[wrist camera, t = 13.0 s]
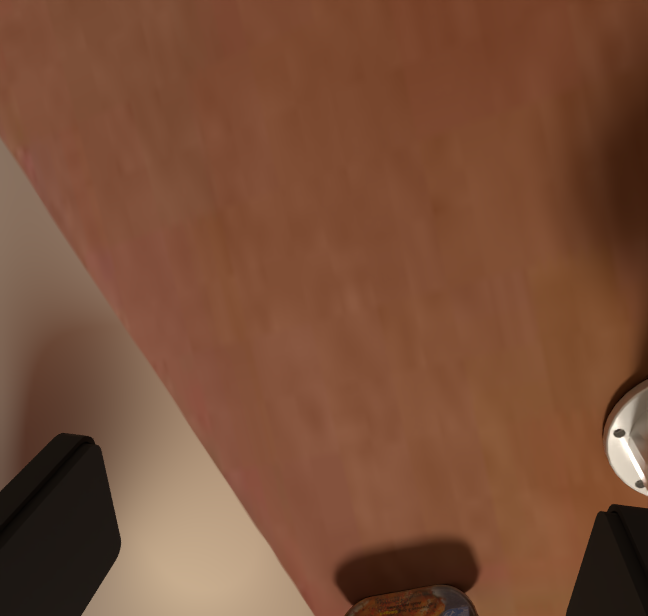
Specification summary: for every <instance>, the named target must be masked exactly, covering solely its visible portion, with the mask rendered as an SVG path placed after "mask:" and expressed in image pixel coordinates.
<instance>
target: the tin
mask: <svg viewBox="0 0 648 616" xmlns="http://www.w3.org/2000/svg"><path fill="white" fill-rule="evenodd" d="M345 616H478V614H477V611H476V609H475V606H474V605H473V603H472V601H471V600H470V599H469V597H468V596H467V595H466V594H465V593H463V592H462V591H461V590H459V589H457V588H455V587H452V586H449V585H431V586H427V587H421V588H416V589H411V590H405V591H400V592H394V593H388V594H383V595H377V596H372V597H368V598H365V599H363V600H361V601H360V602H358V603H357V604H355V605H354V606H353V607H352V608H351V609H350V610H349V611H348V612H347V613H346V614H345Z"/></svg>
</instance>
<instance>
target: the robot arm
mask: <svg viewBox="0 0 648 616" xmlns="http://www.w3.org/2000/svg"><path fill="white" fill-rule="evenodd" d="M603 444H604V450H605V453H606V456H607V458H608V460H609V463H610V465H611V466H612V468H613V470H614V471H615V473H616V475H617V476H618V477H619V478H620V479H621V480H622V481H623V482H624V483H625V484H627V485H628V486H629V487H631V488H632V489H634V490H635V491H637V492H640V493H642V494H644V495H646V496H648V379H647V380H645V381H643V382H642V383H640V384H638V385H637V386H635V387H634V388H633V389H631V390H630V391H629V392H627V393H626V394H625V395H624V396H623V397H622V398H621V399H620V401H619V402H618V403H617V404H616V405H615V407H614V408H613V410H612V411H611V413H610V414H609V416H608V419H607V422H606V424H605V427H604V434H603ZM120 547H121V538H120V533H119V529H118V524H117V520H116V515H115V510H114V506H113V501H112V498H111V492H110V488H109V483H108V479H107V474H106V470H105V465H104V460H103V456H102V451H101V448H100V447H99V446H98V445H95V442H94V440H93V439H92V438H91V437H89V436H83V435H76V434H68V433H61V434H59V435H57V436H56V437H54V438H53V439H52V441H50V442H49V443H48V444H47V446H45V447H44V448H43V450H41V451H40V452H39V453H38V455H36V456H35V457H34V458H33V460H31V462H29V464H27V465H26V466H25V468H23V469H22V471H21V472H20V473H19V474H17V476H15V477H14V479H12V480H11V481H10V482H9V483H8V485H6V486H5V487H4V489H2V490H1V492H0V616H81V615H82V613H83V612H84V610H85V609H86V607H87V605H88V604H89V602H90V601H91V599H92V597H93V596H94V594H95V593H96V591H97V589H98V588H99V586H100V584H101V583H102V581H103V580H104V578H105V577H106V575H107V573H108V572H109V570H110V568H111V567H112V565H113V564H114V562H115V561H116V559H117V557H118V554H119V551H120ZM566 616H648V508H640V507H632V506H624V505H617V504H612V505H611V506H610V507H609V509H608V511H607V512H603V511H600V512H599V513H598V514H597V516H596V519H595V523H594V526H593V529H592V532H591V535H590V538H589V542H588V545H587V548H586V551H585V554H584V558H583V561H582V564H581V567H580V570H579V573H578V577H577V580H576V583H575V586H574V589H573V593H572V596H571V599H570V602H569V605H568V608H567V612H566Z"/></svg>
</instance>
